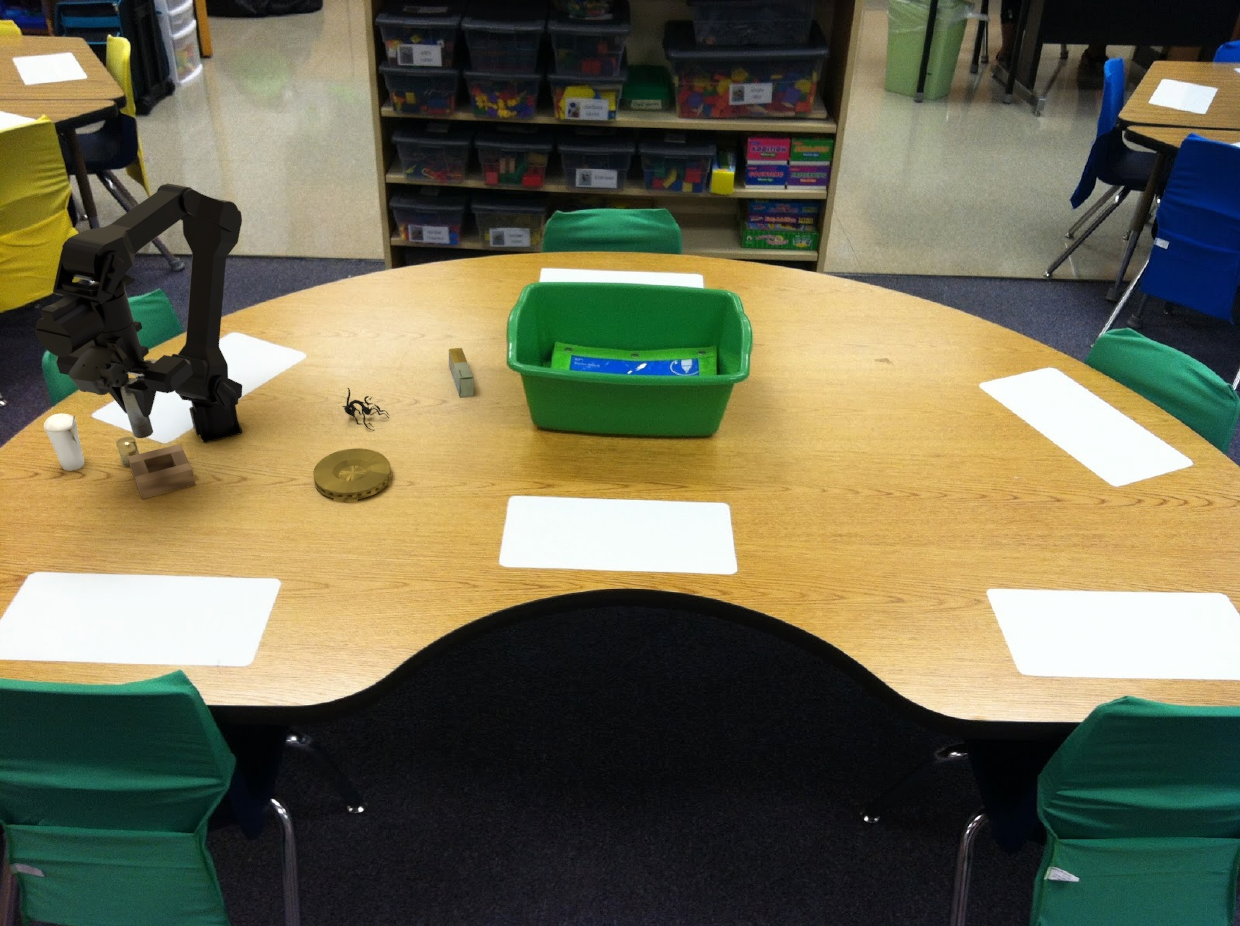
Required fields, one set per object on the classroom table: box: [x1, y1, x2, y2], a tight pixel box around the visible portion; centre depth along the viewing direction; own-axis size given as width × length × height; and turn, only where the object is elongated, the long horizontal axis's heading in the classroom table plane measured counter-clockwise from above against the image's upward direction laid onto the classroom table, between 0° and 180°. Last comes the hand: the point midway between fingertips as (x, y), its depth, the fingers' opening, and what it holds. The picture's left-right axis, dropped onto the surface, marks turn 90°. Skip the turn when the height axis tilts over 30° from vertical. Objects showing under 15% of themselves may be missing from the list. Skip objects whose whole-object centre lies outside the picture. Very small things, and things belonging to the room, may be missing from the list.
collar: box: [128, 443, 197, 500], centre depth 164 cm, size 8×8×3 cm
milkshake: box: [43, 413, 85, 472], centre depth 163 cm, size 4×5×10 cm
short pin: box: [116, 436, 140, 468], centre depth 167 cm, size 3×3×4 cm
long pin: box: [119, 377, 154, 439], centre depth 156 cm, size 3×3×9 cm
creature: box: [341, 387, 390, 431], centre depth 180 cm, size 8×5×8 cm
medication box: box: [448, 347, 475, 399], centre depth 192 cm, size 12×3×4 cm, turn 18°
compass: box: [312, 448, 392, 503], centre depth 166 cm, size 12×12×2 cm
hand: (138, 414), depth 157 cm, fingers closed on long pin, 3 cm apart
